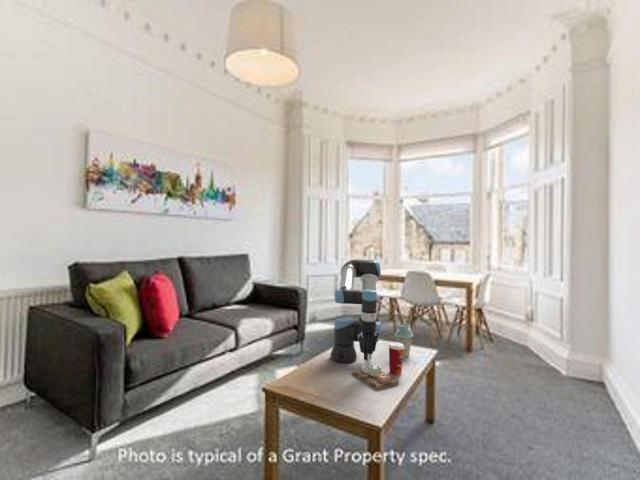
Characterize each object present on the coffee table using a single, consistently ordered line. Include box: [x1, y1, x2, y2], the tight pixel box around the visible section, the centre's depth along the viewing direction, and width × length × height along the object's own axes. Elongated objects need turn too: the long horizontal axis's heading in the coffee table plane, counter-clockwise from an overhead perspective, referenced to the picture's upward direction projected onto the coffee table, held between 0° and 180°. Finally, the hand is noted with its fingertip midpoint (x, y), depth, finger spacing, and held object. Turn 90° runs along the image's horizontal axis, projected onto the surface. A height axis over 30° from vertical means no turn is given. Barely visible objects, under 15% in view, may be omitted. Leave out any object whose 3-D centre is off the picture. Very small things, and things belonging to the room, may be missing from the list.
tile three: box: [376, 372, 391, 383], centre depth 169 cm, size 4×4×4 cm
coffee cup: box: [388, 341, 404, 376], centre depth 183 cm, size 8×8×15 cm
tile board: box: [352, 368, 400, 391], centre depth 174 cm, size 20×13×2 cm, turn 30°
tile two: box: [369, 364, 382, 378], centre depth 174 cm, size 4×4×4 cm
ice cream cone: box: [394, 322, 414, 358], centre depth 210 cm, size 10×11×20 cm
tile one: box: [360, 364, 369, 374], centre depth 180 cm, size 4×4×4 cm
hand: (367, 365), depth 179 cm, fingers closed
